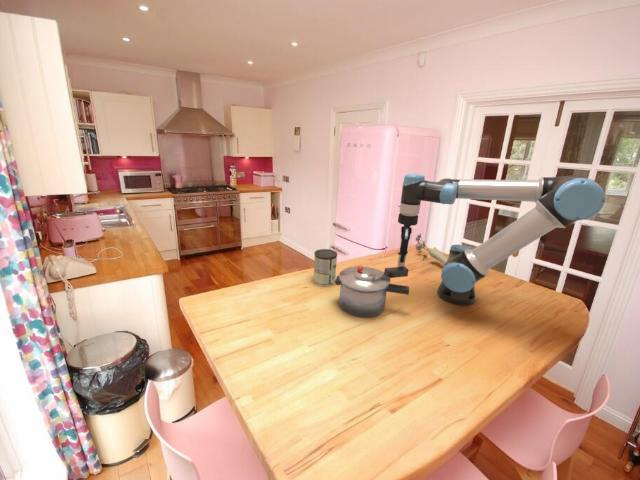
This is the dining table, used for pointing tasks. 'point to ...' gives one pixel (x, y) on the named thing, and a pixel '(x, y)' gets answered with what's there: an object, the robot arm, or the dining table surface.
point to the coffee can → (325, 267)
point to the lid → (370, 278)
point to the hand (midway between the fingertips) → (400, 268)
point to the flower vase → (433, 253)
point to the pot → (366, 300)
